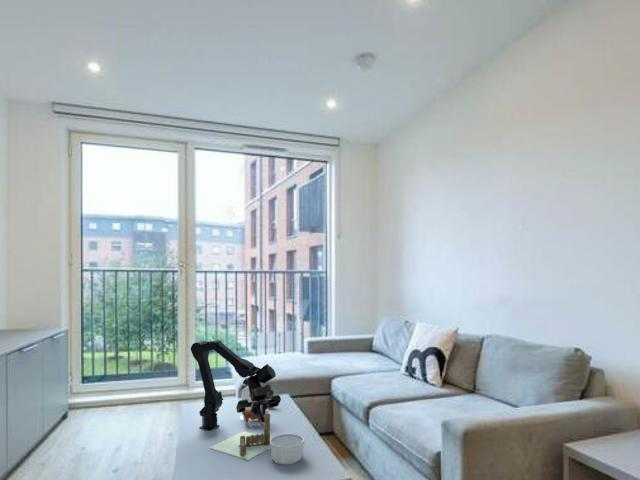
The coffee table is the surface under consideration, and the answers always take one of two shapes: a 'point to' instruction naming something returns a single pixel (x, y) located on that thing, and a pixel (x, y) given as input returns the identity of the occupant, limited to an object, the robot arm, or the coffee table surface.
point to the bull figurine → (252, 416)
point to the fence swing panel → (262, 437)
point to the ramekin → (287, 448)
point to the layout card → (233, 447)
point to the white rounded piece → (245, 396)
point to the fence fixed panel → (242, 445)
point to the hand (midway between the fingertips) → (263, 422)
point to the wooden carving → (269, 394)
